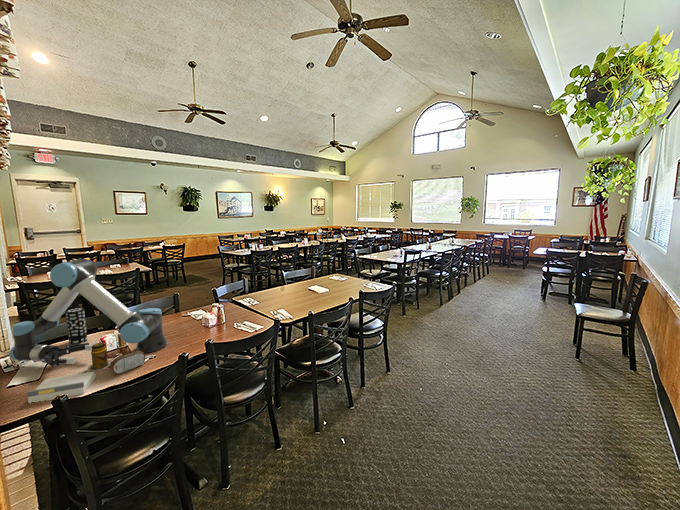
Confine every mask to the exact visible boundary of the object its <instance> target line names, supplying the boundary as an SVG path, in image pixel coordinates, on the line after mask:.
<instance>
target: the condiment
mask: <svg viewBox="0 0 680 510" xmlns="http://www.w3.org/2000/svg"><path fill="white" fill-rule="evenodd" d="M91 345H92V351H91V352H90V353H91V362H92V364H90V365H88V367H87V370H86V373H87V372H94V371H99V370H104V369H108V368H109V367H110V363H111V361H108V352H107V351H108V350H107V347H106V343H104V342H98V343H94V344H91Z"/></svg>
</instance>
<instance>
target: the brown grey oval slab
mask: <svg viewBox="0 0 680 510" xmlns="http://www.w3.org/2000/svg"><path fill="white" fill-rule="evenodd" d="M145 361H146V354H145V353H143V352H142V351H137V350H134V351H131V352H128V353H125V354H122V355H119V356H117V357H115V358H114V359H113V360H112V361H110V363H109V370H110V371H111V373H114V374H116V375H120V374H124V373H126V371H127V372H129V371H131V369H132V370H134V369H137V368H139V367H141V366H142V365H143V364H144V363H145ZM138 366H139V367H138ZM136 367H137V368H136ZM133 368H134V369H133ZM128 370H129V371H128Z"/></svg>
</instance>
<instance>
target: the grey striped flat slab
mask: <svg viewBox="0 0 680 510" xmlns="http://www.w3.org/2000/svg"><path fill="white" fill-rule="evenodd" d="M95 379H96V370H94V371H90V372H87V371H86V372H81V373H75V374H70V375H65V376H57V377H51V378H45V379H44V380H43V381H42V382H41V383H40V384H39V385H38V386H37V387H36V388H35V389H34V390H28V391H27V392H26V395H27V401H28V404H29V403H30V404H32V403H31V402H36V403H40V402H39V401H41V402H45V400H46V401H50V400H51V401H52V400H55V399H54V398H55V397H56V396H58V395H62V394H68V397H73V396H77V395H78V396H79V395H84V394H85V393H86V392H87V390H88V389H89V388H90V386H91V385H92V383H93V382H94V381H95Z"/></svg>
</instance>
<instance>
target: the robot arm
mask: <svg viewBox="0 0 680 510" xmlns="http://www.w3.org/2000/svg"><path fill="white" fill-rule="evenodd" d="M49 273H50V275H49V279H50V281H51V283H53V285H54V286H56V287H59V288H61V289H60V290H59V292H58V293H57V295H56V296H55V297H54V299H53V300H52V301H51V302H50V304H48V306H47V308H45V310H44V311H43V313H42V314H41V315H40V316H39V318H38V319H36V320H34V321H31V320H26V321H20V322H17V323H14V325H12V336H13V342H14V346H12V348H11V349H10V351H9V353H8V356H9V358H10V359H11V360H15V361H21V362H22V361H36V362H37V361H38V362H39V361H40V362H42V363H45V364H47V365H48V366H50V367H54V366H55V365H56V367H58V366H60V365H61V364H66V365H67V364H68V365H70V364H71V365H74V364H75V363H76V361H75V357H63V356H66V355H70V354H71V353H75V352H80V351H89V352H90V351H92V345H93V344H90V342H84V343H81V344H76V345H70V344H67V345H65V347H59V346H57V345H53V344H52V345H51V344H50V345H49V344H37V337H38V336H40V335H42V334H44V333H46V332H48V331H51V330H53V329H55V328H56V327H57V326H59V324H60V319H61V317H62V316H63V315H64V314H65V311H67V310H68V308H69V307H70V306H71V305H72V303H73V302H74V301H75V299H76V298H77V296H78V295H81V296H82V297H83V298H85V299H86V300H87V301H89V302H90V303H91V304H92V305H93V306H95V308H97V309H98V310H99V311H100V312H102V313H103V314H104V315H105V316H106V317H108V318H109V319H110V320H111V321H113V322H114V323H115V324H116V329H117V330H118V331H119V334H120V335H119V336H120V339H121V340H123V342H125V343H127V344H136V351H142V352H143V353H144V354H145V353H152V352H157V351H159V349H160V350H161V348H162V349H163V347H164V348H165V347H167V345H168V340H167V337H166V335H165V333H164V331H163V330H164V329H163V328H164V327H163V314H162V310H161V308H158V307H149V308H143V309H139V310H137V311H132V310H131V309H130V308H129V307H127V306H126V305H125V304H124V303H123V302H121V301H120V300H119V299H118V298H116V297H115V295H113V294H111V292H109V291H108V290H107V289H105V288H104V286H102V285H101V284H100V283H99V282H98V281H96V275H97V273H98V267H97V265H96V263H94V262H93V261H92V260H90V259H86V258H78V259H75V260H70V261H64V262H61V263H58V264H56V265H55V266H54V267H52V268H51V270H50V272H49Z"/></svg>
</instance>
